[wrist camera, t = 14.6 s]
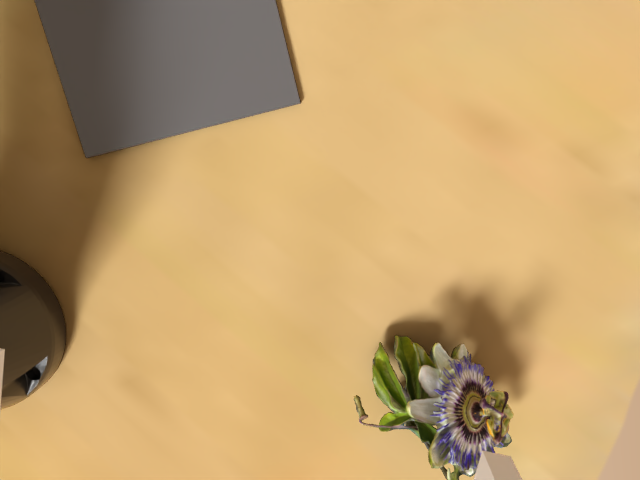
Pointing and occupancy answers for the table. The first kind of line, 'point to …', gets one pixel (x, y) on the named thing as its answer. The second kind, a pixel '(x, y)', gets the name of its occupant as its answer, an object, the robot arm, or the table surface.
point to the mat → (165, 65)
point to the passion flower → (441, 404)
